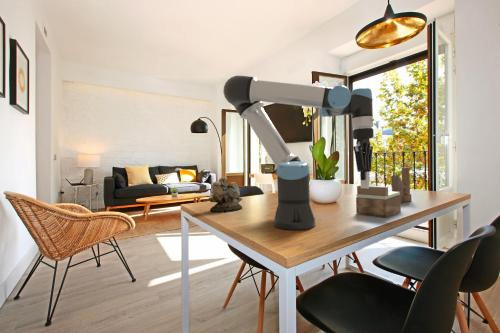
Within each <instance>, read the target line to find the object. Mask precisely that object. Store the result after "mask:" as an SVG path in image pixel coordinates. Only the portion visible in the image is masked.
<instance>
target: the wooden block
mask: <svg viewBox="0 0 500 333" xmlns="http://www.w3.org/2000/svg"><path fill="white" fill-rule="evenodd" d="M410 173H411V172H410V167H401V178H400V177H399V176H398V175H391V177H390V178H391V191H393V192H400V203H401V204H402V203H407V202H412V193H411V185H410V182H411V180H410V176H411V175H410Z"/></svg>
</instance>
